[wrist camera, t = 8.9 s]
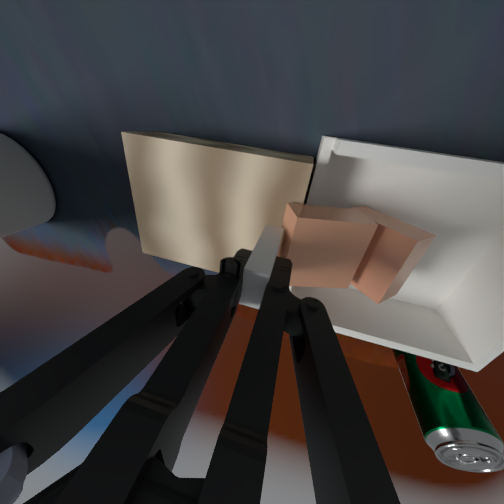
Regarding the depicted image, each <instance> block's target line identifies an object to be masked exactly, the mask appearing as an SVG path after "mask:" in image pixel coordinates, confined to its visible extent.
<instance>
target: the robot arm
mask: <svg viewBox="0 0 504 504" xmlns="http://www.w3.org/2000/svg"><path fill="white" fill-rule="evenodd" d="M283 230H284V228H280V227H276V226H271V225H267V224H266V226H265V228H264V230H263V232H262V234H261V236H260V238H259V240H258V241H257V243H256V245H255V247H254V249H253V251H252V250H247V249H243V248H242V249H240V250H238V251H237V252H236V254H235V256H234V257H226V258H223V259H222V260H221V261H220V271H219V274H217V275H205V272H204V270H202V269H201V268H197V267H190V268H187V269H185V270H183V271H181V272H180V273H178V274H177V275H175V276H174V277H172V278H171V279H169V280H168V281H166V282H165V283H164V284H162V285H161V286H159V287H158V288H156V289H155V290H153V291H152V292H150V293H149V294H147V295H146V296H144V297H143V298H141V299H140V300H139V301H137V302H135V303H134V304H132V305H131V306H129V307H128V308H126V309H125V310H123V311H122V312H120V313H119V314H117V315H116V316H114V317H113V318H111V319H110V320H108V321H107V322H105V323H104V324H102V325H101V326H99V327H98V328H96V329H95V330H93V331H92V332H90V333H89V334H88V335H86V336H84V337H83V338H81V339H80V340H79V341H77V342H76V343H74V344H73V345H71V346H70V347H68V348H67V349H65V350H64V351H62V352H61V353H59V354H58V355H56V356H55V357H53V358H52V359H50V360H49V361H48V362H46V363H44V364H43V365H41V366H40V367H38V368H37V369H35V370H34V371H32V372H31V373H29V374H28V375H26V376H25V377H23V378H22V379H20V380H19V381H17V382H16V383H14V384H13V385H11V386H10V387H8V388H7V389H5V390H4V391H2V392H0V504H13V503H14V502H15V501H16V500H17V498H18V497H19V495H20V493H21V492H22V489H23V483H24V480H25V478H26V475H27V474H29V473H30V472H32V471H33V470H34V469H36V468H37V467H39V466H40V465H41V464H43V463H44V462H45V461H46V460H47V459H49V458H50V457H51V456H52V455H54V454H55V453H56V452H57V451H59V450H60V449H61V448H62V447H63V446H64V445H65V444H66V443H68V442H69V441H70V440H71V439H72V438H73V437H74V436H75V435H76V434H77V433H78V432H79V431H80V430H81V429H82V428H83V427H84V426H86V424H88V423H89V422H90V421H91V420H92V418H94V417H95V416H96V415H97V414H98V413H99V412H100V411H101V410H102V409H103V408H104V407H105V406H106V405H107V404H108V403H109V402H110V401H111V400H112V399H113V398H114V397H115V396H116V395H117V394H118V393H119V392H120V391H121V390H122V389H123V388H124V387H125V386H126V385H127V384H128V383H129V382H130V381H131V380H132V379H134V377H136V375H137V374H139V372H141V371H142V370H143V369H144V368H145V367H146V366H147V365H148V364H149V363H150V362H151V361H152V360H153V359H154V358H155V357H156V356H157V355H158V354H159V353H160V352H161V351H162V350H163V349H164V348H165V347H166V346H167V345H168V344H169V343H170V342H171V341H172V340H173V339H174V338H175V337H176V336H177V335H178V336H177V338H176V339H175V341H174V342H173V344H172V345H171V347H170V348H169V350H168V351H167V353H166V354H165V356H164V357H163V359H162V361H161V362H160V363H159V365H158V366H157V368H156V370H155V371H154V373H153V374H152V376H151V377H150V379H149V380H148V382H147V383H146V385H145V386H144V388H143V389H142V390H141V391H140V392H139V393H138V394H135V395H132V396H131V397H130V398H129V399H128V400H127V401H126V402H125V403H124V404H123V406H122V407H121V409H120V410H119V411H118V413H117V414H116V416H115V417H114V418H113V420H112V422H111V423H110V424H109V426H108V427H107V429H106V430H105V432H104V433H103V434H102V436H101V437H100V439H99V440H98V442H97V443H96V444H95V446H94V447H93V449H92V450H91V452H90V453H89V455H88V456H87V458H86V459H85V461H84V462H83V463H82V464H81V465H79V466H77V467H76V468H74V469H73V470H71V471H70V472H69V473H67V474H66V475H64V476H63V477H61V478H60V479H58V480H57V481H55V482H54V483H53V484H51V485H50V486H48V487H47V488H45V489H44V490H42V491H41V492H40V493H38V494H37V495H35V496H34V497H32V498H31V499H29V500H28V501H26V502H25V503H23V504H260V499H261V492H262V484H263V478H264V471H265V464H266V456H267V436H268V429H269V422H270V415H271V409H272V401H273V396H274V389H275V382H276V376H277V369H278V362H279V355H280V349H281V343H282V336H283V331H285V332H287V333H288V334H290V335H289V338H290V344H291V350H292V356H293V362H294V369H295V374H296V381H297V387H298V393H299V399H300V406H301V412H302V418H303V424H304V430H305V437H306V442H307V449H308V455H309V461H310V467H311V474H312V480H313V486H314V492H315V498H316V504H400V502H399V499H398V496H397V493H396V491H395V488H394V486H393V483H392V480H391V478H390V475H389V472H388V470H387V467H386V465H385V462H384V460H383V457H382V454H381V452H380V449H379V447H378V444H377V441H376V439H375V436H374V433H373V431H372V428H371V425H370V423H369V420H368V418H367V415H366V412H365V410H364V407H363V405H362V402H361V399H360V397H359V394H358V392H357V389H356V386H355V384H354V381H353V378H352V376H351V373H350V371H349V368H348V365H347V363H346V360H345V357H344V355H343V352H342V350H341V347H340V344H339V342H338V339H337V336H336V334H335V331H334V329H333V326H332V323H331V321H330V318H329V316H328V313H327V310H326V308H325V306H324V304H323V303H322V302H321V301H320V300H318V299H316V298H313V297H305V298H303V299H302V300H301V299H300V298H298V297H296V296H294V295H293V294H292V293H291V291H290V289H289V284H290V277H291V271H292V262H291V260H290V259H287V258H282V257H278V252H279V248H280V244H281V239H282V235H283ZM239 299H240V301H239ZM238 302H239V304H242V305H246V306H249V307H253V308H256V309H259V311H258V314H257V317H256V320H255V324H254V327H253V330H252V334H251V337H250V341H249V344H248V347H247V350H246V353H245V356H244V360H243V363H242V366H241V370H240V373H239V376H238V379H237V382H236V386H235V389H234V392H233V396H232V399H231V402H230V405H229V409H228V412H227V415H226V418H225V421H224V424H223V426H222V428H221V431H220V434H219V436H218V440H217V443H216V446H215V449H214V452H213V455H212V459H211V462H210V465H209V468H208V471H207V475H206V478H178V477H176V476H175V475H174V474H173V473H172V469H173V467H174V464H175V462H176V459H177V456H178V453H179V449H180V445H181V442H182V439H183V436H184V433H185V431H186V428H187V426H188V424H189V422H190V419H191V417H192V415H193V412H194V410H195V407H196V405H197V403H198V400H199V398H200V396H201V393H202V391H203V388H204V385H205V384H206V381H207V379H208V377H209V374H210V372H211V370H212V367H213V365H214V362H215V360H216V358H217V355H218V353H219V351H220V348H221V346H222V344H223V341H224V339H225V337H226V334H227V332H228V329H229V327H230V325H231V322H232V320H233V318H234V315H235V313H236V311H237V304H238Z"/></svg>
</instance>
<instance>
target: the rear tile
mask: <svg viewBox="0 0 504 504" xmlns="http://www.w3.org/2000/svg"><path fill="white" fill-rule="evenodd" d="M346 209H356V210H358V211H360V212H361V213H363V214H364V215H365V216H367V217H368V218H370V219H371V220H372V221H374V222H375V223H377V224H378V226H377V229H376V231H375V233H374V235H373V237H372V239H371V241H370V243H369V245H368V247H367V249H366V251H365V253H364V256H363V258H362V260H361V262H360V264H359V266H358V268H357V270H356V272H355V274H354V276H353V278H352V281H351V283H350V284H351V285H353V286H354V287H355V288H357V289H358V290H359V291H361V292H362V293H363V294H365V295H366V296H367V297H369V298H370V299H371V300H373V301H374V302H375V303H377V304H380V303H381V302H383V301H385V300H387V299H389V298H391V297H393V296H395V295H397V293H398V292H399V290H400V289H401V287H402V286H403V284H404V283H405V281H406V280H407V278H408V277H409V275H410V274H411V272H412V271H413V269H414V268H415V266H416V265H417V264H418V262H419V261H420V259H421V258H422V256H423V255H424V253H425V252H426V250H427V249H428V247H429V246H430V244H431V243H432V241H433V240H434V238H435V237H436V235H434V234H432V233H429V232H427V231H425V230H422V229H420V228H417V227H415V226H412V225H410V224H408V223H405V222H403V221H400V220H398V219H396V218H393V217H391V216H388V215H386V214H383V213H381V212H379V211H376V210H374V209H371V208H369V207H367V206H363V207H354V208H346Z"/></svg>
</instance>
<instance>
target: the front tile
mask: <svg viewBox="0 0 504 504" xmlns="http://www.w3.org/2000/svg"><path fill="white" fill-rule="evenodd" d="M377 226H378V224H377V223H375V222H374V221H372V220H371V219H370V218H368V217H367V216H365V215H364V214H363V213H361V212H360V211H358V210H356V209H346V208H337V207H327V206H317V205H307V204H297V203H287V206H286V210H285V215H284V219H283V224H282V228H284V230H283V235H282V239H281V244H280V248H279V252H278V257H282V258H287V259H290V260H291V262H292V271H291V277H290V284H289V286H299V287H322V288H345V289H348V287H349V285H350V283H351V281H352V278H353V276H354V274H355V272H356V270H357V268H358V266H359V264H360V262H361V260H362V258H363V256H364V253H365V251H366V249H367V247H368V245H369V243H370V241H371V239H372V237H373V235H374V233H375V231H376V229H377Z"/></svg>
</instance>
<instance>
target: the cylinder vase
mask: <svg viewBox="0 0 504 504" xmlns="http://www.w3.org/2000/svg"><path fill="white" fill-rule="evenodd" d="M55 207H56V201H55V195H54V192H53V189H52V186H51V184H50V182H49V180H48V178H47V176H46V174H45V173H44V171H43V169H42V168H41V167H40V165H39V164H38V163H37V161H36V160H35V159H34V158H33V157H32V156H31V155H30V154H29V153H28V152H27V151H26V150H25V149H24V148H23V147H22V146H21V145H19V144H18V143H17V142H15V141H14V140H12V139H11V138H9V137H7V136H5V135H3V134H1V133H0V238H2V237H5V236H8V235H11V234H14V233H16V232H19V231H22V230H25V229H28V228H31V227H34V226H37V225H40V224H43V223H45V222H47V221H49V220H50V219H51V218H52V216H53V215H54V212H55Z"/></svg>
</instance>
